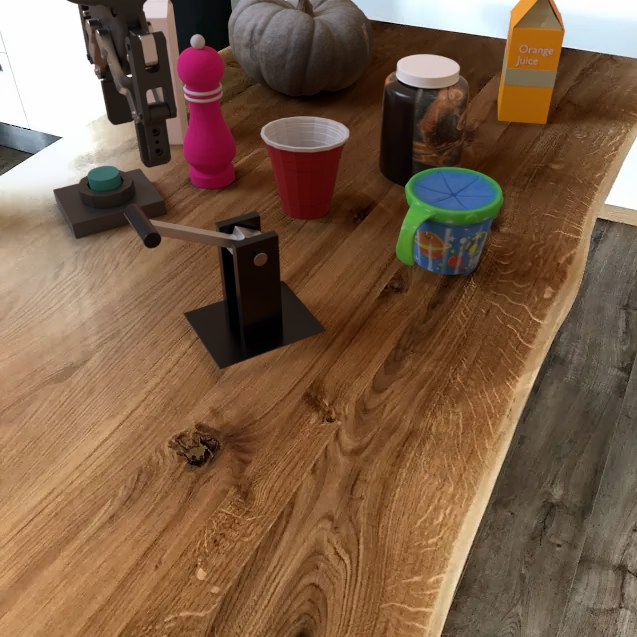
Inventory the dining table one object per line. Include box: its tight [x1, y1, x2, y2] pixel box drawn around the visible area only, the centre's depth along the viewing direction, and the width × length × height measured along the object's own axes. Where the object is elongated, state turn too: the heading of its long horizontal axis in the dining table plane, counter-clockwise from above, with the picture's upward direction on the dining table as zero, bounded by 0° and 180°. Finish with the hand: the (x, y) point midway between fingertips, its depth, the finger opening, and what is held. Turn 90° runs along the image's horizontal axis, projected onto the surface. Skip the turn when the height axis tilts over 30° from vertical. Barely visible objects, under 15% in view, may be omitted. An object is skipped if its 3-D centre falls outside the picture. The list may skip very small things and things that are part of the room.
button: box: [86, 165, 122, 191], centre depth 94 cm, size 4×4×2 cm
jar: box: [378, 53, 470, 187], centre depth 100 cm, size 12×12×15 cm
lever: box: [124, 204, 263, 255], centre depth 67 cm, size 13×6×2 cm, turn 119°
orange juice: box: [497, 0, 566, 125], centre depth 114 cm, size 8×9×20 cm
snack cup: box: [395, 167, 505, 277], centre depth 84 cm, size 16×10×10 cm
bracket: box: [183, 210, 327, 370], centre depth 74 cm, size 12×10×13 cm
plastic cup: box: [260, 115, 350, 221], centre depth 92 cm, size 11×11×12 cm
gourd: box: [227, 0, 375, 97], centre depth 126 cm, size 25×25×17 cm
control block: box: [52, 167, 168, 240], centre depth 96 cm, size 12×10×4 cm
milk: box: [143, 0, 189, 146], centre depth 107 cm, size 6×6×22 cm
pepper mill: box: [177, 33, 237, 190], centre depth 97 cm, size 7×7×20 cm
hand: (139, 142), depth 59 cm, fingers open, 8 cm apart
